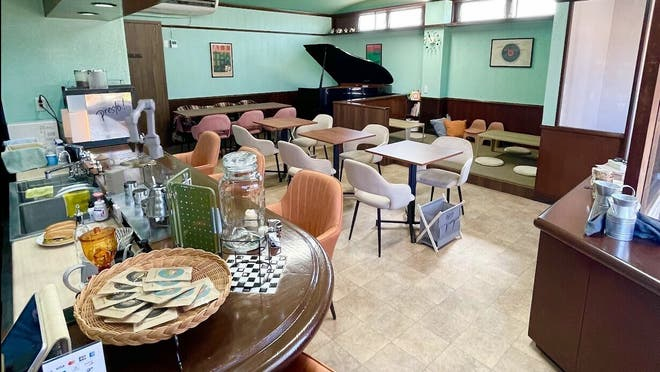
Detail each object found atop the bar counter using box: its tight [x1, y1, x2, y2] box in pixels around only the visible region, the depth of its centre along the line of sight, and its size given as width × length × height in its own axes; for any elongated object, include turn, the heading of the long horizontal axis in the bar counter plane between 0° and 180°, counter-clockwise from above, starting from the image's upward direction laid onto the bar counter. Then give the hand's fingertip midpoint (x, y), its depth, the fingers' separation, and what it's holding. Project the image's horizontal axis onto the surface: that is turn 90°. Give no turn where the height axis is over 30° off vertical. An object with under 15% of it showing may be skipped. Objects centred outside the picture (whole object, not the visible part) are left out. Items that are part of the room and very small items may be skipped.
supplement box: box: [104, 168, 127, 195], centre depth 230 cm, size 7×7×13 cm
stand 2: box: [132, 159, 158, 168], centre depth 290 cm, size 12×10×2 cm
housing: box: [136, 154, 152, 164], centre depth 289 cm, size 7×4×5 cm, turn 154°
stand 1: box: [119, 158, 140, 167], centre depth 296 cm, size 12×10×2 cm
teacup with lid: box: [93, 153, 116, 170], centre depth 279 cm, size 12×9×12 cm
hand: (137, 152), depth 286 cm, fingers open, 7 cm apart
